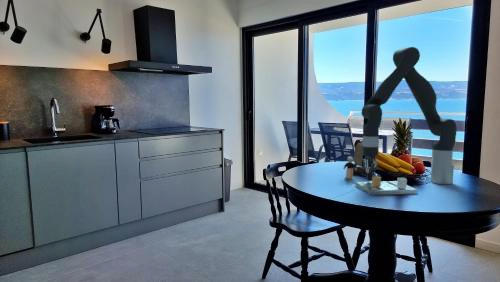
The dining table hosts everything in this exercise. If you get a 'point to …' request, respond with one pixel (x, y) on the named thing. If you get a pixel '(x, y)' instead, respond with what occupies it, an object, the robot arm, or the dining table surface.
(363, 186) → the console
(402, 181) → the fader
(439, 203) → the dining table surface
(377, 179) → the fader
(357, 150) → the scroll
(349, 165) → the grandmother figurine
